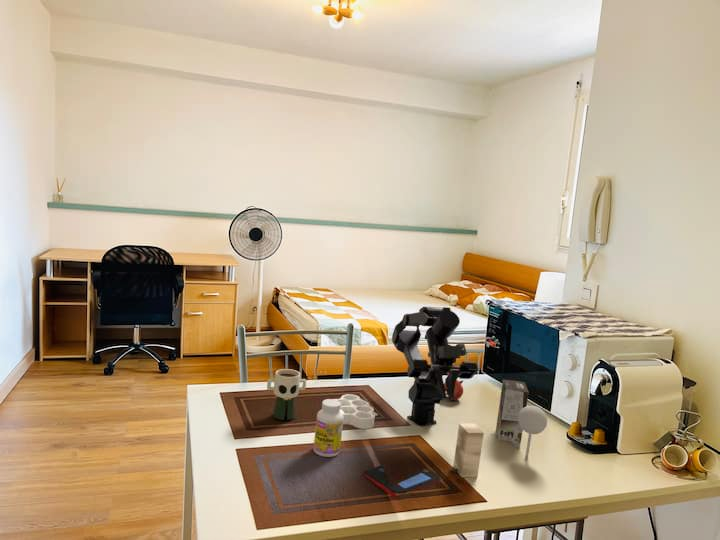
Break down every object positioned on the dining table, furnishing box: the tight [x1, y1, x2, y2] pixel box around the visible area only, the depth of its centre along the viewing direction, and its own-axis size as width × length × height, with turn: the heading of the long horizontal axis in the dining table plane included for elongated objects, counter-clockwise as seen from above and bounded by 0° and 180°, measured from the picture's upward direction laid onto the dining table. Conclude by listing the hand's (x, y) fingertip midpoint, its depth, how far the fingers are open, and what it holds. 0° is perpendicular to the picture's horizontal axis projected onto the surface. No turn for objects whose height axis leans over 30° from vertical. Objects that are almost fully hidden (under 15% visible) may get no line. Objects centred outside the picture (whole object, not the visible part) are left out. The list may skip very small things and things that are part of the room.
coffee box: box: [495, 379, 530, 448], centre depth 145 cm, size 9×6×16 cm
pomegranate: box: [443, 379, 464, 401], centre depth 173 cm, size 7×7×10 cm
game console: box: [362, 465, 441, 499], centre depth 119 cm, size 14×13×2 cm
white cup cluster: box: [333, 393, 379, 430], centre depth 151 cm, size 3×18×15 cm
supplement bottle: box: [313, 398, 344, 458], centre depth 127 cm, size 7×7×13 cm
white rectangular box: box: [449, 422, 485, 478], centre depth 121 cm, size 5×6×11 cm
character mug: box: [266, 368, 307, 421], centre depth 144 cm, size 11×7×13 cm, turn 106°
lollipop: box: [518, 405, 548, 460], centre depth 133 cm, size 7×7×15 cm
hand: (448, 398), depth 135 cm, fingers closed
